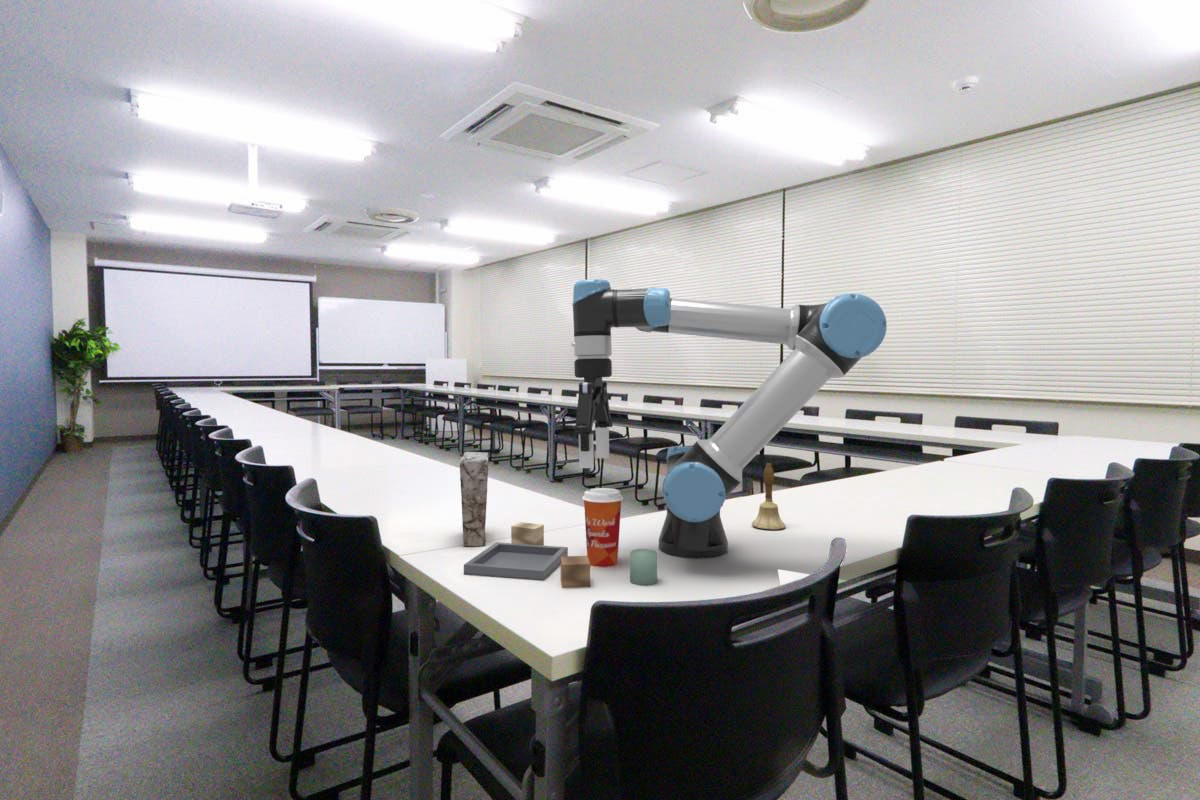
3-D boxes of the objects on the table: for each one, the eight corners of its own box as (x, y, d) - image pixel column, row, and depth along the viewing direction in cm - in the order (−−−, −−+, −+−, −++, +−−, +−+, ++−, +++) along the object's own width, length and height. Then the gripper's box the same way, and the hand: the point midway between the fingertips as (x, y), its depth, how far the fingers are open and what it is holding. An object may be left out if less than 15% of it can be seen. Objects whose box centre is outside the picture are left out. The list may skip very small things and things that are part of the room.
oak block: (543, 546, 141) (543, 524, 141) (535, 551, 137) (535, 528, 137) (520, 543, 143) (520, 522, 143) (511, 548, 139) (511, 526, 139)
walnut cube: (587, 582, 118) (587, 555, 117) (590, 591, 113) (590, 563, 112) (560, 583, 117) (560, 556, 117) (562, 592, 112) (562, 564, 112)
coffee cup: (575, 567, 126) (575, 493, 125) (591, 556, 133) (591, 486, 133) (614, 572, 123) (615, 496, 122) (628, 560, 130) (629, 489, 130)
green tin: (658, 581, 118) (659, 549, 118) (655, 590, 113) (655, 557, 113) (632, 579, 119) (632, 547, 119) (627, 588, 114) (627, 555, 114)
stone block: (492, 546, 141) (492, 457, 140) (460, 548, 139) (459, 458, 138) (487, 531, 154) (487, 450, 153) (458, 533, 152) (457, 451, 151)
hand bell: (779, 531, 155) (780, 466, 154) (747, 526, 159) (747, 464, 158) (789, 524, 161) (790, 462, 161) (758, 520, 166) (758, 460, 165)
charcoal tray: (567, 558, 132) (567, 547, 132) (543, 583, 116) (543, 571, 116) (496, 553, 135) (496, 542, 135) (463, 577, 120) (463, 564, 120)
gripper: (590, 359, 140) (592, 454, 141) (556, 357, 115) (559, 472, 116) (623, 358, 138) (625, 454, 139) (596, 356, 114) (598, 472, 115)
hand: (595, 462), depth 128 cm, fingers open, 13 cm apart
